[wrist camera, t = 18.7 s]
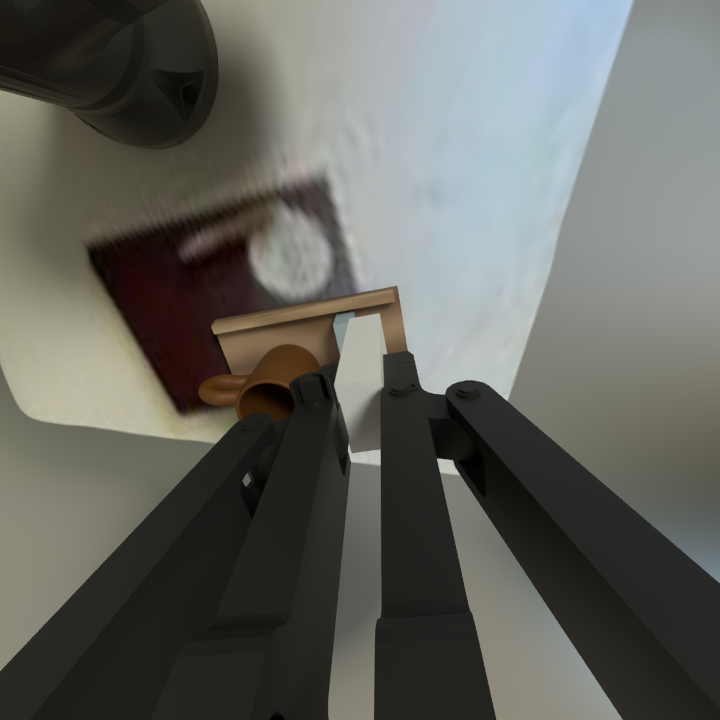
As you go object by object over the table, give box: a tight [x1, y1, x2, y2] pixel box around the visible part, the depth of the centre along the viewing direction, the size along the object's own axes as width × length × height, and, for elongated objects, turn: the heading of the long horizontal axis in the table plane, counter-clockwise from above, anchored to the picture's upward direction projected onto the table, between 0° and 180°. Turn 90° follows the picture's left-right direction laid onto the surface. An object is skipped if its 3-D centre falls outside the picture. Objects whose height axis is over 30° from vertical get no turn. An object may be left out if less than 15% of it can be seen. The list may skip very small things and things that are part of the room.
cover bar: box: [333, 310, 356, 356], centre depth 42 cm, size 12×2×4 cm, turn 11°
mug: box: [199, 344, 320, 422], centre depth 40 cm, size 12×8×9 cm, turn 81°
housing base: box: [211, 286, 407, 375], centre depth 44 cm, size 15×22×3 cm
